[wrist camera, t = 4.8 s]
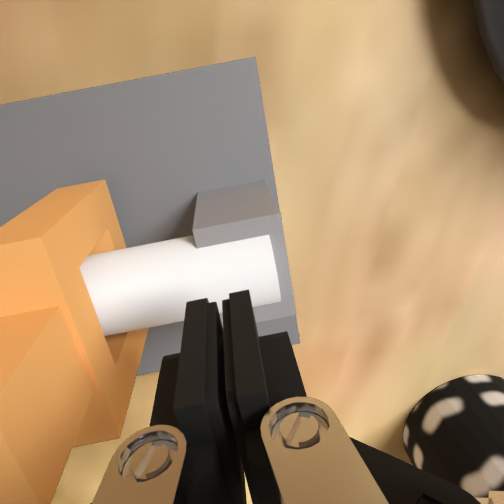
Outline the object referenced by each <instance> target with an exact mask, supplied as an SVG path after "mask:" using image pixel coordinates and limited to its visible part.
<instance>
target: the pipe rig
mask: <svg viewBox="0 0 504 504" xmlns="http://www.w3.org/2000/svg"><path fill="white" fill-rule="evenodd" d="M104 179H105V181H106V184H107V187H108V190H109V193H110V196H111V200H112V203H113V206H114V209H115V212H116V216H117V219H118V222H119V225H120V228H121V232H122V235H123V238H124V241H125V244H126V248H125V249H120V250H115V251H109V252H104V253H99V254H94V255H89V256H87V258H86V259H85V260H84V262H83V263H82V265H81V266H80V267H79V268H80V271H81V273H82V276H83V279H84V282H85V284H86V287H87V290H88V292H89V295H90V298H91V301H92V303H93V306H94V309H95V312H96V314H97V317H98V320H99V322H100V325H101V328H102V331H103V333H104V336H109V335H114V334H119V333H124V332H129V331H134V330H139V329H144V328H149V329H148V333H147V337H146V341H145V344H144V348H143V352H142V356H141V360H140V364H139V367H138V371H137V375H142V374H147V373H152V372H157V371H160V368H161V362H162V359H163V357H164V356H165V355H170V354H175V353H180V350H181V342H182V334H183V326H184V318H185V309H186V303H187V302H188V301H193V300H198V299H203V298H208V301H209V303H210V302H215V301H216V303H217V306H218V310H219V314H220V318H221V322H222V327H223V313H222V300H225V299H229V293H233V292H238V291H243V290H248V289H249V292H250V297H251V302H252V306H253V311H254V316H255V321H256V326H257V331H258V336H259V337H260V336H265V335H270V334H275V333H280V332H285V331H287V332H288V335H289V338H290V342H291V345H294V344H299V343H300V339H299V332H298V326H297V319H296V309H295V303H294V296H293V290H292V284H291V277H290V271H289V264H288V258H287V251H286V245H285V238H284V232H283V226H282V219H281V213H280V210H279V204H278V197H277V191H276V184H275V178H274V171H273V165H272V159H271V152H270V146H269V139H268V133H267V126H266V120H265V114H264V107H263V101H262V94H261V88H260V81H259V75H258V69H257V62H256V57H251V58H246V59H240V60H235V61H230V62H225V63H219V64H214V65H209V66H203V67H198V68H193V69H188V70H182V71H177V72H172V73H166V74H161V75H156V76H151V77H145V78H140V79H135V80H129V81H124V82H119V83H114V84H108V85H103V86H98V87H92V88H87V89H82V90H76V91H71V92H66V93H61V94H55V95H50V96H45V97H39V98H34V99H29V100H24V101H18V102H13V103H8V104H2V105H0V227H1V226H3V225H4V224H6V223H7V222H9V221H10V220H12V219H13V218H15V217H16V216H18V215H19V214H21V213H22V212H23V211H25V210H26V209H28V208H29V207H31V206H32V205H34V204H35V203H37V202H38V201H40V200H41V199H42V198H44V197H45V196H47V195H48V194H50V193H51V192H53V191H54V190H56V189H57V188H62V187H67V186H73V185H78V184H83V183H88V182H94V181H99V180H104ZM137 375H136V376H137Z"/></svg>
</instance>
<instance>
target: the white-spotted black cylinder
mask: <svg viewBox="0 0 504 504" xmlns="http://www.w3.org/2000/svg"><path fill="white" fill-rule="evenodd" d="M403 442H404V446H405V450H406V452H407V454H408V456H409V458H410V460H411V462H412V464H413V466H415V467H417V468H419V469H421V470H424V471H426V472H428V473H430V474H432V475H435V476H437V477H439V478H441V479H444V480H446V481H448V482H450V483H452V484H455V485H457V486H458V487H460V488H462V489H463V490H465V491H467V492H469V493H470V494H471V495H472V496H474V497H475V498H488V497H489V491H504V379H503V378H501V377H497V376H491V375H472V376H466V377H461V378H458V379H455V380H452V381H449V382H447V383H445V384H443V385H441V386H439V387H437V388H436V389H435V390H433V391H432V392H430V393H429V394H427V395H426V396H425V397H424V398H423V399H422V400H421V401H420V402H419V403H418V404H417V405H416V407H415V408H414V409H413V411H412V412H411V413H410V415H409V417H408V419H407V421H406V424H405V428H404V432H403Z"/></svg>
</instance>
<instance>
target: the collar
mask: <svg viewBox="0 0 504 504" xmlns="http://www.w3.org/2000/svg"><path fill="white" fill-rule="evenodd" d="M125 248H126V244H125V241H124V238H123V235H122V232H121V228H120V225H119V222H118V219H117V216H116V212H115V209H114V206H113V203H112V200H111V196H110V193H109V190H108V187H107V184H106V181H105V179H104V180H99V181H94V182H88V183H83V184H78V185H73V186H67V187H62V188H57V189H56V190H54V191H53V192H51V193H50V194H48V195H47V196H45V197H44V198H42V199H41V200H40V201H38V202H37V203H35V204H34V205H32V206H31V207H29V208H28V209H26V210H25V211H23V212H22V213H21V214H19V215H18V216H16V217H15V218H13V219H12V220H10V221H9V222H7V223H6V224H4V225H3V226H1V227H0V504H51V501H52V499H53V496H54V493H55V491H56V488H57V486H58V483H59V481H60V478H61V475H62V473H63V470H64V468H65V465H66V462H67V460H68V457H69V455H70V452H71V449H72V448H73V447H78V446H83V445H88V444H93V443H98V442H103V441H108V440H113V439H118V438H120V436H121V432H122V428H123V425H124V421H125V417H126V413H127V409H128V405H129V402H130V398H131V394H132V390H133V386H134V383H135V379H136V375H137V371H138V367H139V364H140V360H141V356H142V352H143V348H144V344H145V341H146V337H147V333H148V329H149V328H144V329H139V330H134V331H129V332H124V333H119V334H114V335H109V336H104V333H103V331H102V328H101V325H100V322H99V320H98V317H97V314H96V312H95V309H94V306H93V303H92V301H91V298H90V295H89V292H88V290H87V287H86V284H85V282H84V279H83V276H82V273H81V271H80V268H79V267H80V266H81V265H82V263H83V262H84V260H85V259H86V258H87V256H89V255H94V254H99V253H104V252H109V251H115V250H120V249H125Z"/></svg>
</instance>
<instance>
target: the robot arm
mask: <svg viewBox="0 0 504 504" xmlns="http://www.w3.org/2000/svg"><path fill="white" fill-rule="evenodd" d="M222 313H223V327H222V322H221V318H220V314H219V310H218V306H217V303H216V301H215V302H210V303H209V301H208V298H203V299H198V300H193V301H188V302H187V303H186V309H185V318H184V326H183V334H182V342H181V350H180V353H175V354H170V355H165V356H164V357H163V359H162V362H161V368H160V373H159V379H158V384H157V390H156V395H155V400H154V406H153V411H152V417H151V422H150V427H147V428H144V429H142V430H140V431H137V432H136V433H134V434H133V435H131V436H130V437H128V438H127V439H126V440H125V441H124V442H123V443H122V444H121V445H120V446H119V447H118V448H117V450H116V451H115V453H114V455H113V456H112V458H111V461H110V463H109V465H108V467H107V470H106V472H105V474H104V477H103V479H102V481H101V484H100V486H99V488H98V490H97V493H96V495H95V497H94V500H93V502H92V503H91V504H247V502H246V490H245V477H244V472H245V476H246V479H247V483H248V487H249V491H250V495H251V499H252V503H253V504H504V491H489V497H488V498H475V497H474V496H472V495H471V494H470V493H469V492H467V491H465V490H463V489H462V488H460V487H458V486H457V485H455V484H452V483H450V482H448V481H446V480H444V479H441V478H439V477H437V476H435V475H432V474H430V473H428V472H426V471H424V470H421V469H419V468H417V467H415V466H413V465H410V464H408V463H406V462H404V461H402V460H399V459H397V458H395V457H393V456H390V455H388V454H386V453H384V452H382V451H379V450H377V449H375V448H373V447H371V446H368V445H366V444H364V443H362V442H360V441H357V440H355V439H353V438H351V437H349V436H348V434H347V432H346V431H345V429H344V427H343V426H342V424H341V422H340V421H339V419H338V417H337V416H336V414H335V412H334V411H333V410H332V409H331V408H330V407H329V405H327V404H326V403H324V402H322V401H320V400H318V399H315V398H311V397H307V396H306V392H305V389H304V386H303V382H302V379H301V375H300V372H299V369H298V365H297V362H296V359H295V355H294V352H293V349H292V345H291V342H290V338H289V335H288V332H287V331H285V332H280V333H275V334H270V335H265V336H260V337H259V336H258V331H257V326H256V321H255V316H254V311H253V306H252V302H251V297H250V292H249V289H248V290H243V291H238V292H233V293H229V299H225V300H222Z"/></svg>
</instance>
